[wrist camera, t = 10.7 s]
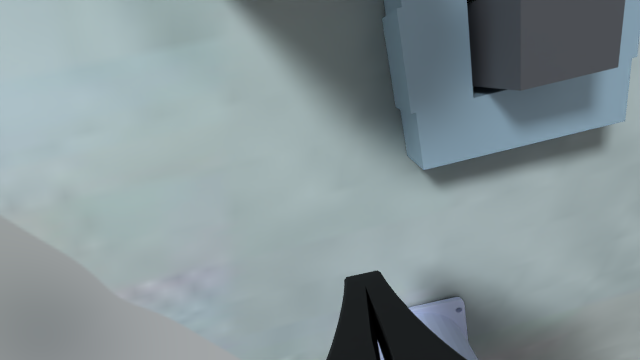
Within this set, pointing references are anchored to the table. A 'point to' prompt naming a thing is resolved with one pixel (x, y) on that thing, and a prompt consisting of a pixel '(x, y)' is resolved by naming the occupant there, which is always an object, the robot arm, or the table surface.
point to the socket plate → (487, 103)
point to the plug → (542, 40)
